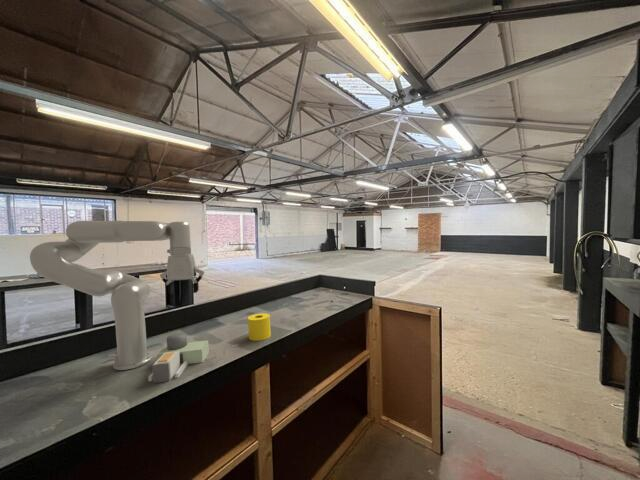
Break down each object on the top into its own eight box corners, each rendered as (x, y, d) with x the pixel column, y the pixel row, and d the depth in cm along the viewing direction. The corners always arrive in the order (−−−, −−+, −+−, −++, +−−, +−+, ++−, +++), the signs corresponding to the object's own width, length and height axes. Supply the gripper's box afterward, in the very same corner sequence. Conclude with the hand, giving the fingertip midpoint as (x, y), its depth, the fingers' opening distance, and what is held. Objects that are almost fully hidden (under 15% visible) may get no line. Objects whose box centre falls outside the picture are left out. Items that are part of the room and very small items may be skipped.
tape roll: (264, 341, 120) (262, 320, 120) (244, 339, 123) (243, 319, 123) (274, 333, 130) (273, 313, 129) (256, 332, 133) (255, 313, 132)
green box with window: (144, 381, 91) (142, 355, 90) (168, 356, 110) (167, 334, 110) (194, 375, 93) (192, 350, 93) (209, 351, 112) (207, 330, 112)
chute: (166, 368, 100) (164, 351, 99) (180, 366, 100) (179, 349, 100) (153, 383, 90) (151, 364, 90) (169, 381, 90) (167, 362, 90)
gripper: (154, 253, 106) (156, 296, 106) (199, 251, 107) (201, 293, 107) (163, 252, 113) (166, 292, 113) (205, 250, 114) (208, 289, 115)
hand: (183, 293), depth 110 cm, fingers open, 9 cm apart
